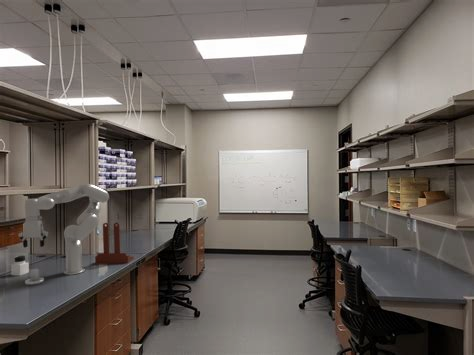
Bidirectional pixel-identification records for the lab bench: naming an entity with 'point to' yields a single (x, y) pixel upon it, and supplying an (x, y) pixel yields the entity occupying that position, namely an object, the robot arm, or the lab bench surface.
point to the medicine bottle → (19, 266)
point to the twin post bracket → (115, 256)
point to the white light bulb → (34, 274)
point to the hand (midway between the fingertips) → (33, 246)
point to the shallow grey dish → (34, 281)
